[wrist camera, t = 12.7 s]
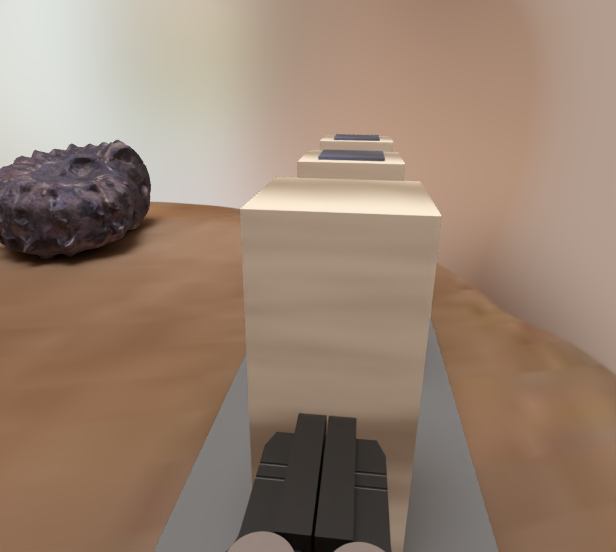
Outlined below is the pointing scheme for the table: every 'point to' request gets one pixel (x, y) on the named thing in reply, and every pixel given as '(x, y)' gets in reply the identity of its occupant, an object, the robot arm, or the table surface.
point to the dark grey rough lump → (72, 199)
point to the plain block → (340, 313)
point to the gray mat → (423, 491)
